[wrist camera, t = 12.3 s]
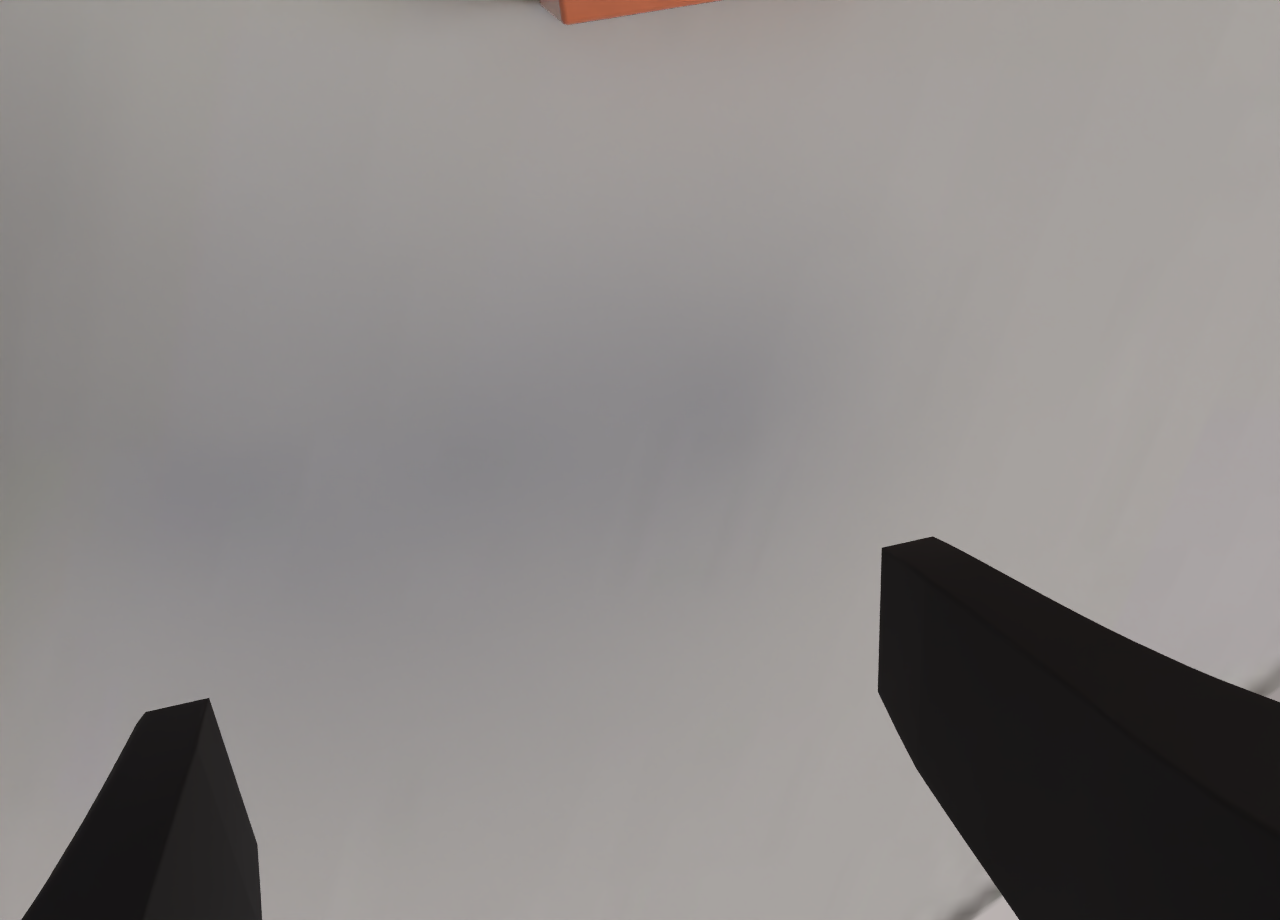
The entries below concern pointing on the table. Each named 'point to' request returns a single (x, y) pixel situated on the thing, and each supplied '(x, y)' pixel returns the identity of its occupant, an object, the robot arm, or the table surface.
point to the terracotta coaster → (608, 8)
